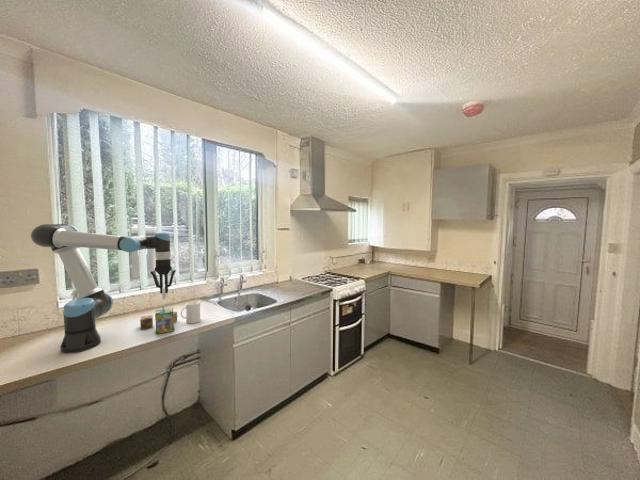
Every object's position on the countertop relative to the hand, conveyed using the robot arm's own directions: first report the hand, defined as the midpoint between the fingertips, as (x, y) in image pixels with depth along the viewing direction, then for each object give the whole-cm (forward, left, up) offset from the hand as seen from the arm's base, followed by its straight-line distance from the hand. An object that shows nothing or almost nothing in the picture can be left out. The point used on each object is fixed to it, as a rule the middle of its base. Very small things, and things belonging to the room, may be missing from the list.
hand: (164, 298), depth 153 cm
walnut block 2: (+1, +12, -19) cm, 22 cm away
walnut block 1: (-11, +9, -19) cm, 24 cm away
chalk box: (0, 0, -19) cm, 19 cm away
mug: (+13, +9, -19) cm, 25 cm away
